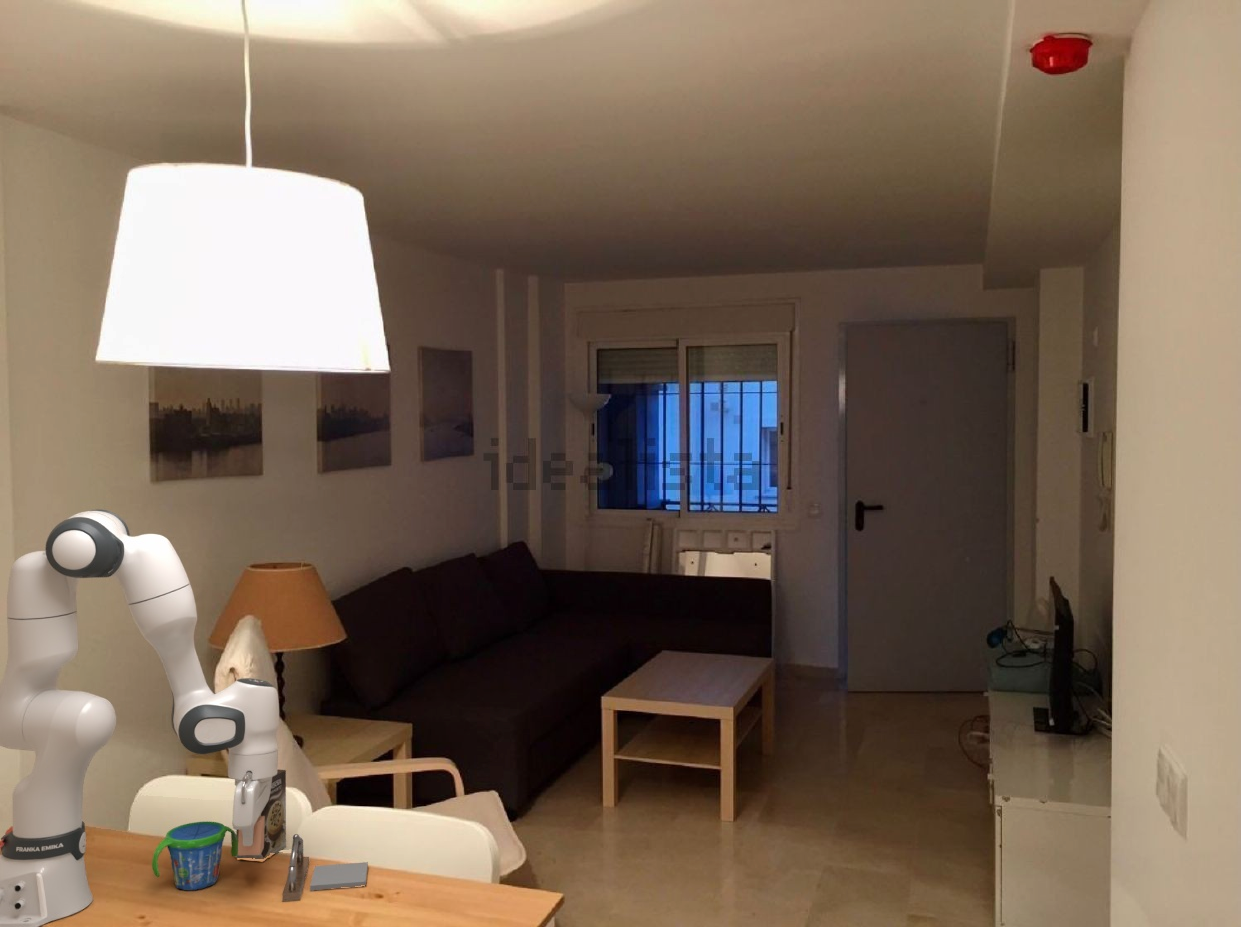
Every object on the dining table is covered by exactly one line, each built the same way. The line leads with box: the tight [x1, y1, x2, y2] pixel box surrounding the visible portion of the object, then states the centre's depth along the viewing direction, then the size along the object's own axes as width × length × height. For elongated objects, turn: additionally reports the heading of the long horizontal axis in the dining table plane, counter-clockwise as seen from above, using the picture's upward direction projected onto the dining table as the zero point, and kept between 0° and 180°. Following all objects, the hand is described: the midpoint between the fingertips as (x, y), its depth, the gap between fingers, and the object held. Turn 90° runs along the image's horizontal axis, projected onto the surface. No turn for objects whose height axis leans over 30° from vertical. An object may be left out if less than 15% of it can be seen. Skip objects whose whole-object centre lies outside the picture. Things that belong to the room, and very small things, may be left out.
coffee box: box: [235, 769, 287, 859], centre depth 218 cm, size 9×6×16 cm
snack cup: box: [151, 821, 238, 891], centre depth 202 cm, size 16×10×10 cm
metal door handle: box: [281, 833, 310, 903], centre depth 203 cm, size 3×18×9 cm, turn 11°
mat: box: [309, 861, 369, 892], centre depth 205 cm, size 10×10×1 cm
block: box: [238, 816, 265, 855], centre depth 201 cm, size 4×4×6 cm
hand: (250, 840), depth 201 cm, fingers closed on block, 4 cm apart
